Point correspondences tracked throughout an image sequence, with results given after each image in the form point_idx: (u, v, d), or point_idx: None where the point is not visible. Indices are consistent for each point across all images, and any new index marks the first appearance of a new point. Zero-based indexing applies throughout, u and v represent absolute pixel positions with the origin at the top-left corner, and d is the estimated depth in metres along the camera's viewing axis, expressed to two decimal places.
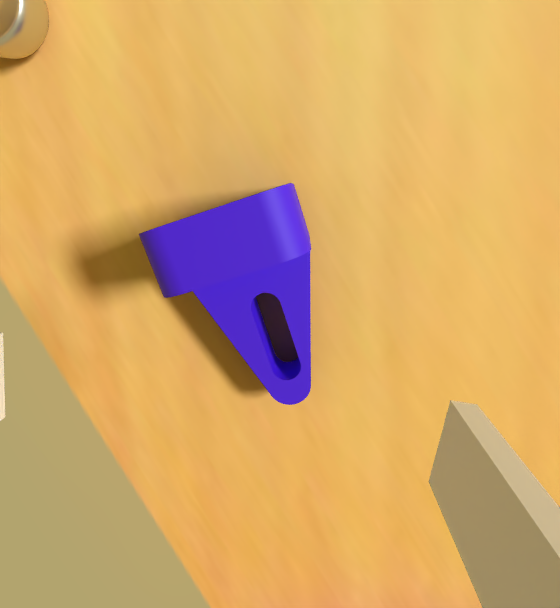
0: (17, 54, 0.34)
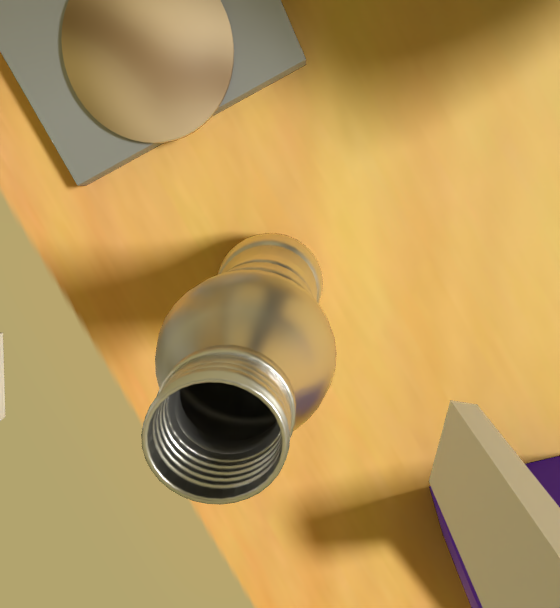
0: None
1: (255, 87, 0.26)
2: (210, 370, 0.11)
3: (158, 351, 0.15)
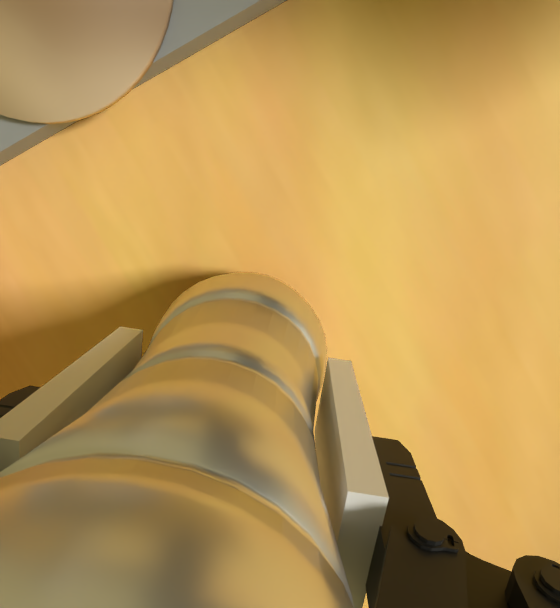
0: None
1: (213, 28, 0.15)
2: None
3: None
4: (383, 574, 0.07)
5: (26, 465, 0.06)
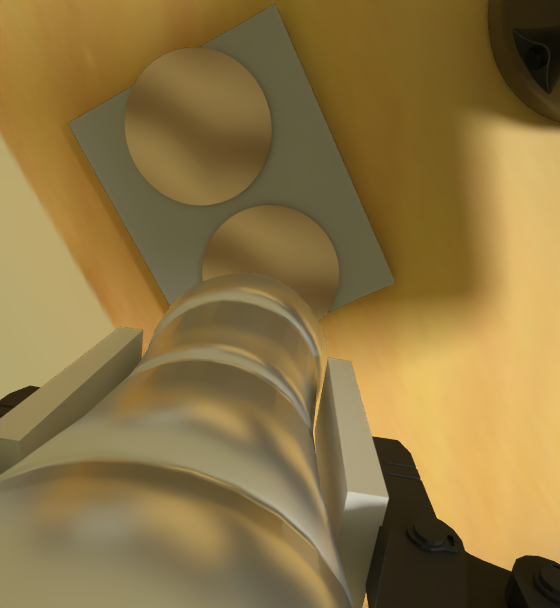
0: None
1: (353, 300, 0.33)
2: None
3: None
4: (383, 574, 0.07)
5: (26, 468, 0.06)
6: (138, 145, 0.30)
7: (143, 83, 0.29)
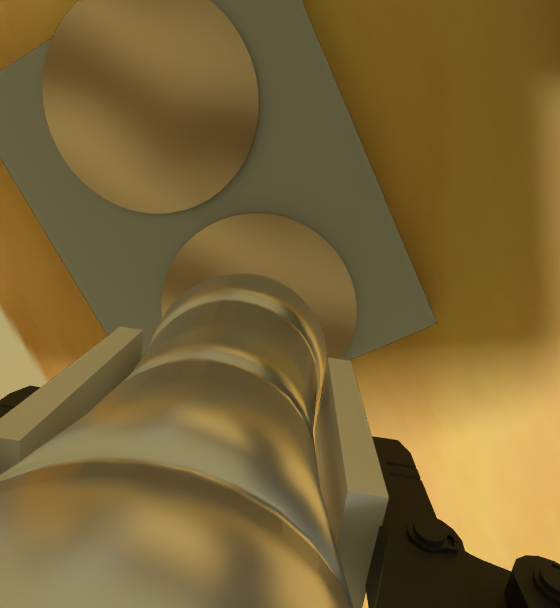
0: None
1: (376, 347, 0.23)
2: None
3: None
4: (383, 574, 0.07)
5: (26, 468, 0.06)
6: (64, 126, 0.21)
7: (67, 33, 0.20)
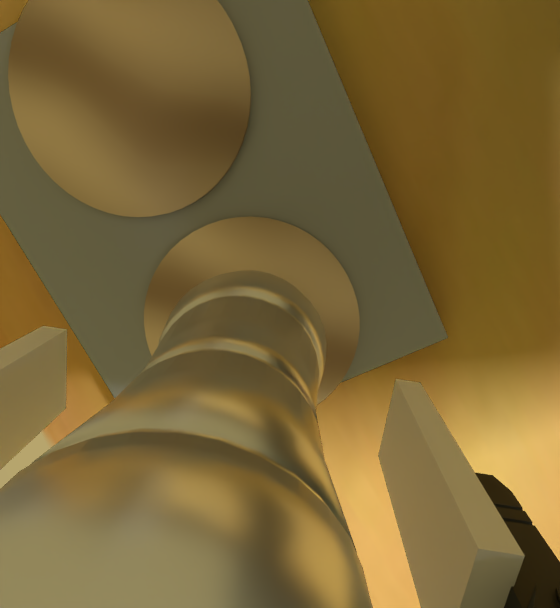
0: None
1: (381, 364, 0.21)
2: None
3: None
4: None
5: (77, 440, 0.07)
6: (33, 119, 0.18)
7: (35, 14, 0.17)
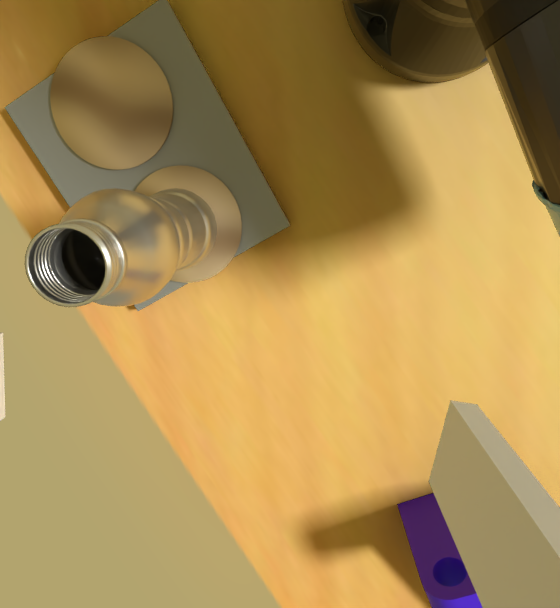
0: (191, 266, 0.36)
1: (257, 243, 0.39)
2: (61, 223, 0.19)
3: None
4: None
5: None
6: (63, 121, 0.36)
7: (63, 69, 0.35)
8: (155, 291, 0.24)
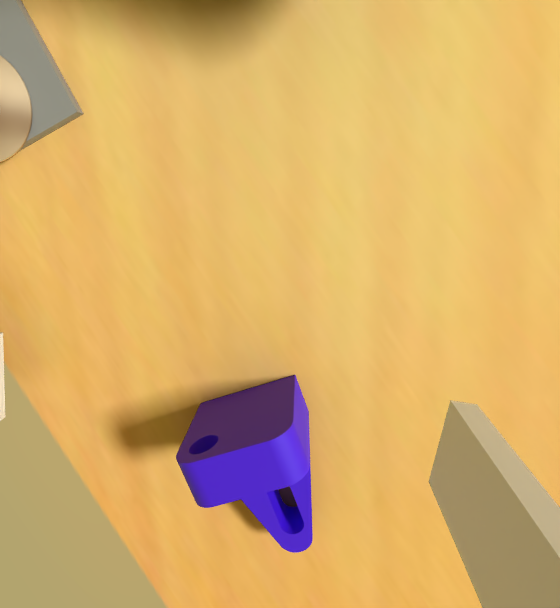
0: None
1: (48, 128, 0.41)
2: None
3: None
4: None
5: None
6: None
7: None
8: None
